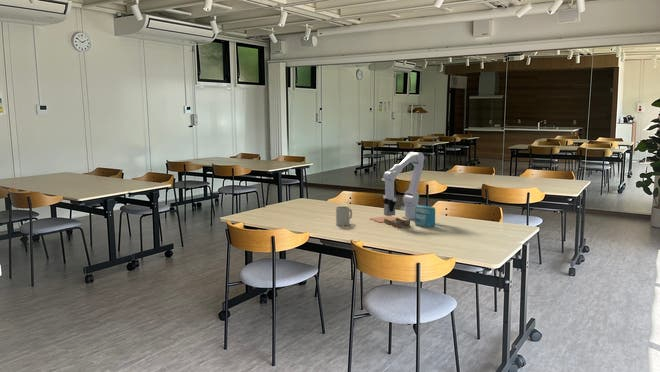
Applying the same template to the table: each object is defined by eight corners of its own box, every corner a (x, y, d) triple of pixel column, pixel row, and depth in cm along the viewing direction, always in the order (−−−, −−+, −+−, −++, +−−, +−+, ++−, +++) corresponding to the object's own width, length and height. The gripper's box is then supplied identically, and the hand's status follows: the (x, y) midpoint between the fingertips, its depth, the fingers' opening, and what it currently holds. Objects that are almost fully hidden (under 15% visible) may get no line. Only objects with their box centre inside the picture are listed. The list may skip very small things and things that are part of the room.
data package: (414, 225, 326) (414, 206, 325) (418, 223, 330) (418, 205, 328) (431, 227, 319) (431, 208, 317) (435, 226, 322) (435, 207, 320)
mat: (391, 216, 352) (391, 216, 352) (400, 220, 340) (400, 219, 340) (369, 219, 346) (369, 218, 346) (378, 222, 334) (378, 222, 334)
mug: (342, 226, 325) (342, 209, 323) (333, 224, 331) (333, 207, 330) (356, 223, 333) (356, 206, 331) (347, 221, 339) (347, 205, 338)
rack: (397, 221, 338) (397, 215, 337) (410, 226, 323) (410, 220, 322) (384, 222, 334) (384, 216, 334) (396, 227, 319) (396, 221, 319)
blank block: (392, 214, 340) (392, 203, 339) (395, 215, 336) (395, 204, 335) (383, 214, 337) (383, 204, 336) (386, 216, 334) (386, 205, 333)
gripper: (378, 189, 340) (378, 209, 342) (389, 192, 326) (389, 213, 328) (388, 188, 342) (388, 208, 344) (399, 191, 329) (399, 212, 331)
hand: (389, 210), depth 336 cm, fingers closed on blank block, 4 cm apart
